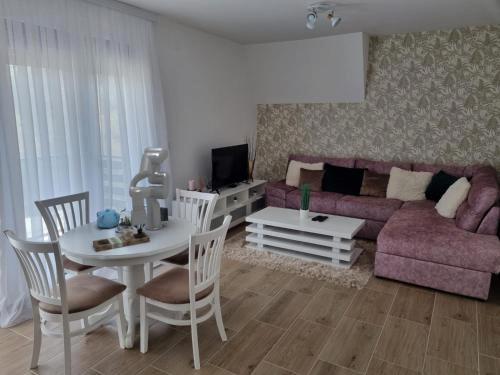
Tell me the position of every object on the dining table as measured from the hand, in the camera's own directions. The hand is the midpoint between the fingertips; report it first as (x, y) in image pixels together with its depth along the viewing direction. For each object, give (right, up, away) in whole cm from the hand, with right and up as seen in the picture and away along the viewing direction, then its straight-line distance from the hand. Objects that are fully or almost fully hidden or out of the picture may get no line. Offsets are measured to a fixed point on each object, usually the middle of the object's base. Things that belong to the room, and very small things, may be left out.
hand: (140, 234), depth 238 cm
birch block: (-6, -2, -4) cm, 8 cm away
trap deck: (-10, -5, -5) cm, 13 cm away
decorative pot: (-33, +2, +31) cm, 45 cm away
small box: (+3, +5, +45) cm, 45 cm away
